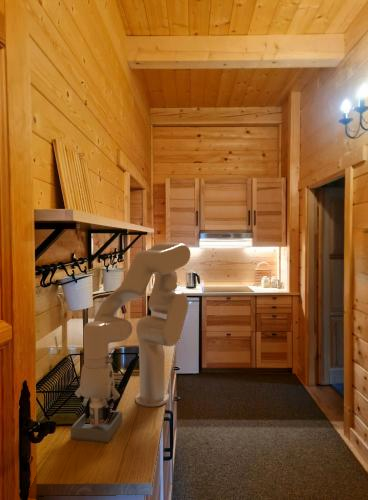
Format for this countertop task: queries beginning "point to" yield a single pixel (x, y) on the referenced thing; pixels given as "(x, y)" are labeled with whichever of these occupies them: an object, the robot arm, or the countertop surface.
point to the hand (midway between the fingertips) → (97, 416)
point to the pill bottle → (96, 412)
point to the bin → (96, 429)
